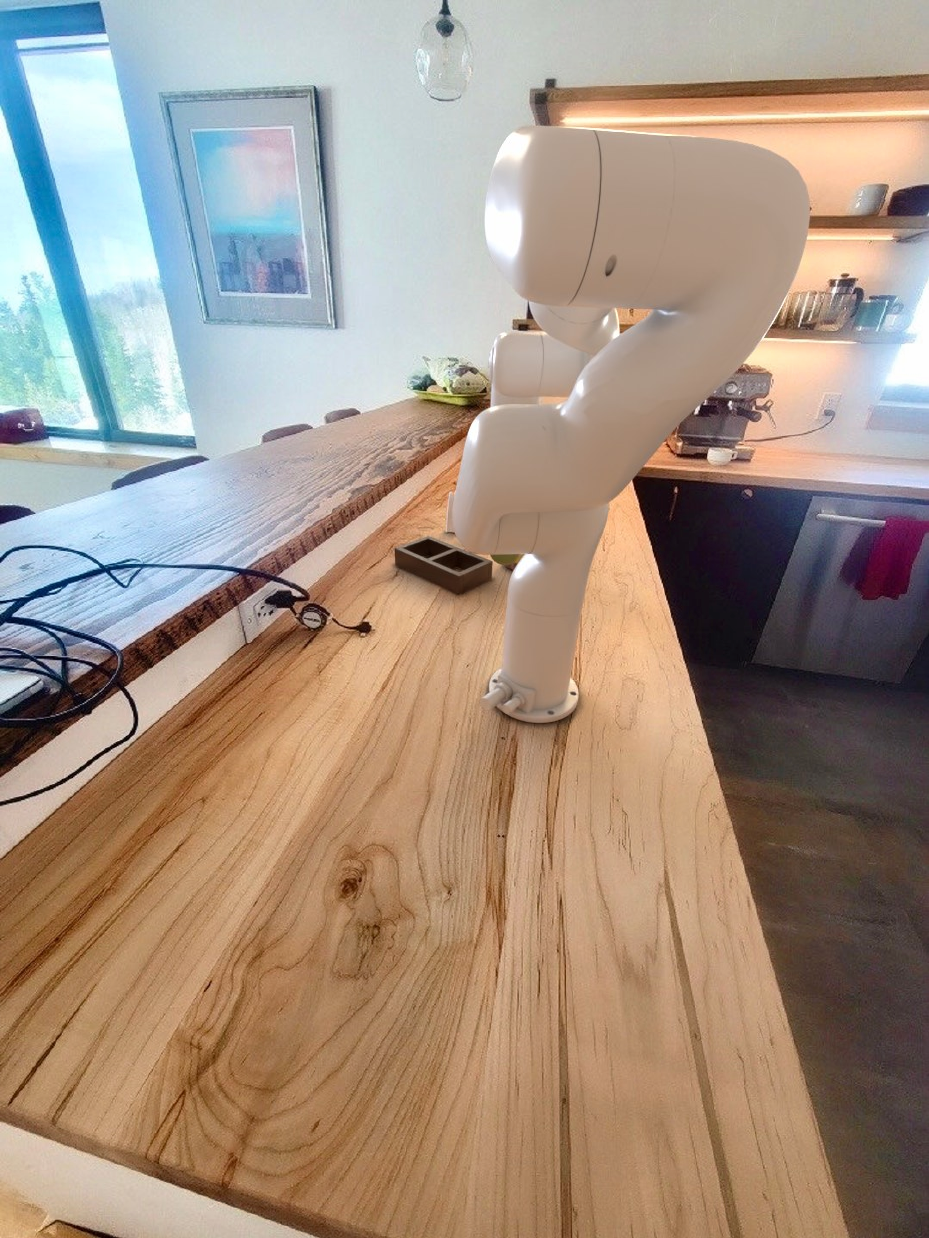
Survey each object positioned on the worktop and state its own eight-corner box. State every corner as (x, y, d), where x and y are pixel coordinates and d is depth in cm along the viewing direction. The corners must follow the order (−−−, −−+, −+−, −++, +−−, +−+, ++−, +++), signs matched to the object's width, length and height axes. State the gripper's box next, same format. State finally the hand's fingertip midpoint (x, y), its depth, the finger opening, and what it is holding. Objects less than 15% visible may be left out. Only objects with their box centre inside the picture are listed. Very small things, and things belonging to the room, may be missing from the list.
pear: (500, 554, 91) (505, 500, 86) (525, 562, 89) (531, 507, 83) (482, 563, 88) (485, 508, 82) (506, 572, 85) (512, 515, 80)
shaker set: (495, 532, 125) (498, 488, 119) (492, 538, 122) (495, 493, 116) (449, 526, 127) (450, 483, 122) (444, 532, 124) (445, 488, 118)
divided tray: (458, 595, 96) (459, 576, 94) (395, 565, 107) (394, 547, 105) (491, 579, 103) (492, 561, 101) (428, 552, 113) (428, 535, 111)
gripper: (497, 437, 69) (490, 559, 78) (565, 422, 79) (552, 531, 89) (457, 428, 73) (455, 545, 82) (527, 416, 84) (518, 520, 93)
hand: (505, 536), depth 85 cm, fingers closed on pear, 5 cm apart
